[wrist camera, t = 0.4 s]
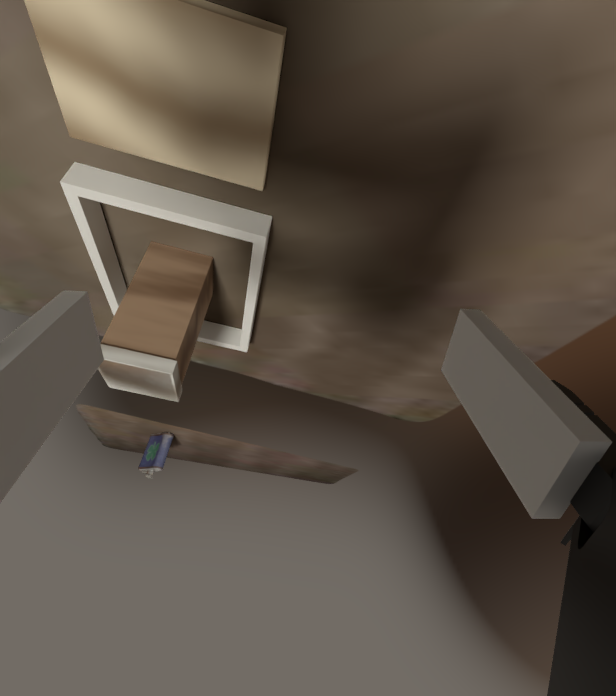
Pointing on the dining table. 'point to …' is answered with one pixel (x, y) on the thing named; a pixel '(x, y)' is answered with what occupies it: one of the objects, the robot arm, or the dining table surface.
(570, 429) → the robot arm
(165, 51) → the board
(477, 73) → the dining table surface
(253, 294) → the white rectangular frame
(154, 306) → the canister
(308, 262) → the dining table surface
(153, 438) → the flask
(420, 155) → the dining table surface
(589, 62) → the dining table surface
